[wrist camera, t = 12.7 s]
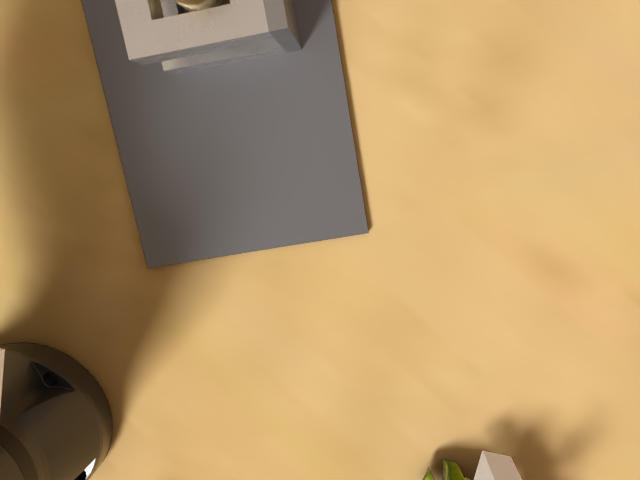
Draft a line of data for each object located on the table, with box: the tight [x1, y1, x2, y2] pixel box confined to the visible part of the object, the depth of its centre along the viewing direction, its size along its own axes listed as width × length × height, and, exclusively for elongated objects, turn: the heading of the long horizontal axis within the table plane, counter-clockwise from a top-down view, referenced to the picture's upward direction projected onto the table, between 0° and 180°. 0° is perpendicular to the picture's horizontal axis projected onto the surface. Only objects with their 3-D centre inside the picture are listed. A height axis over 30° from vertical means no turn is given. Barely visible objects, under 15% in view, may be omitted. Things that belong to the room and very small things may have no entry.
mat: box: [81, 0, 368, 268], centre depth 41 cm, size 19×25×1 cm
